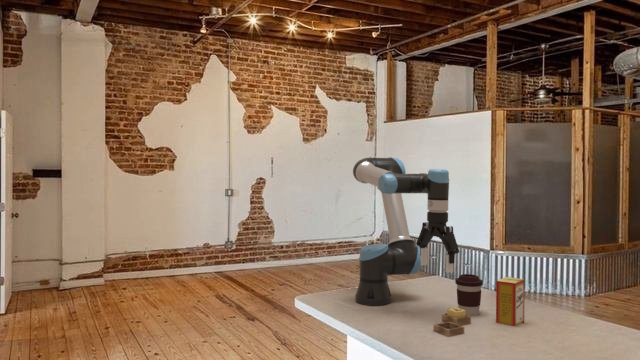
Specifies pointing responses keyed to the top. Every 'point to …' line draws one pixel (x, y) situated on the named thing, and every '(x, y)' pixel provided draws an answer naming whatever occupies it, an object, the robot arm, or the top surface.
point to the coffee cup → (469, 293)
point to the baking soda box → (510, 301)
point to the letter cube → (456, 313)
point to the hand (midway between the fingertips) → (436, 268)
